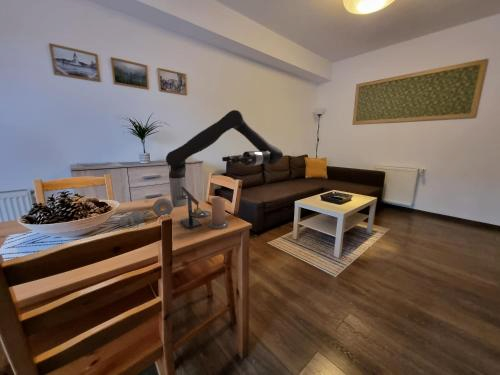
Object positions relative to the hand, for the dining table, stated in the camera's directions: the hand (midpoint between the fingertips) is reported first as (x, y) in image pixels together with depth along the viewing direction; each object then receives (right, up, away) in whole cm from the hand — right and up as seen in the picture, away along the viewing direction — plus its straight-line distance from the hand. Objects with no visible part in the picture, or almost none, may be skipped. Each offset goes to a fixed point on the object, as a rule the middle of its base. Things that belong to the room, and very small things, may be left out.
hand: (227, 159), depth 102 cm
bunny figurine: (-44, -31, 0) cm, 54 cm away
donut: (-34, -29, +8) cm, 46 cm away
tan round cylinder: (-4, -31, -4) cm, 31 cm away
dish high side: (-15, -28, +10) cm, 34 cm away
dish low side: (-4, -32, -3) cm, 32 cm away
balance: (-17, -31, -3) cm, 36 cm away
